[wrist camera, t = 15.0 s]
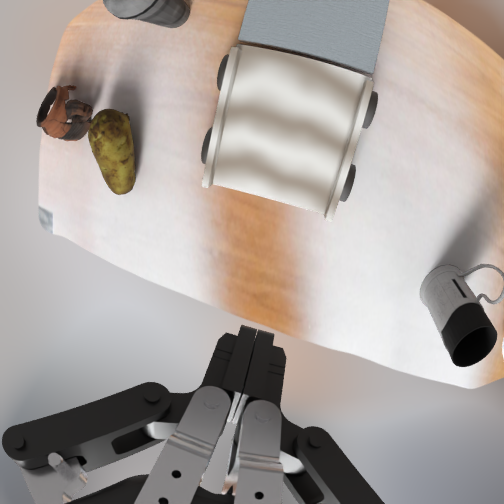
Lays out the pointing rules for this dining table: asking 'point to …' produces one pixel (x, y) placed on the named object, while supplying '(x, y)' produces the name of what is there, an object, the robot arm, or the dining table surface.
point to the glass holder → (459, 314)
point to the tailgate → (319, 28)
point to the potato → (113, 149)
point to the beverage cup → (151, 11)
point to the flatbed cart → (287, 128)
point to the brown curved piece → (64, 115)
